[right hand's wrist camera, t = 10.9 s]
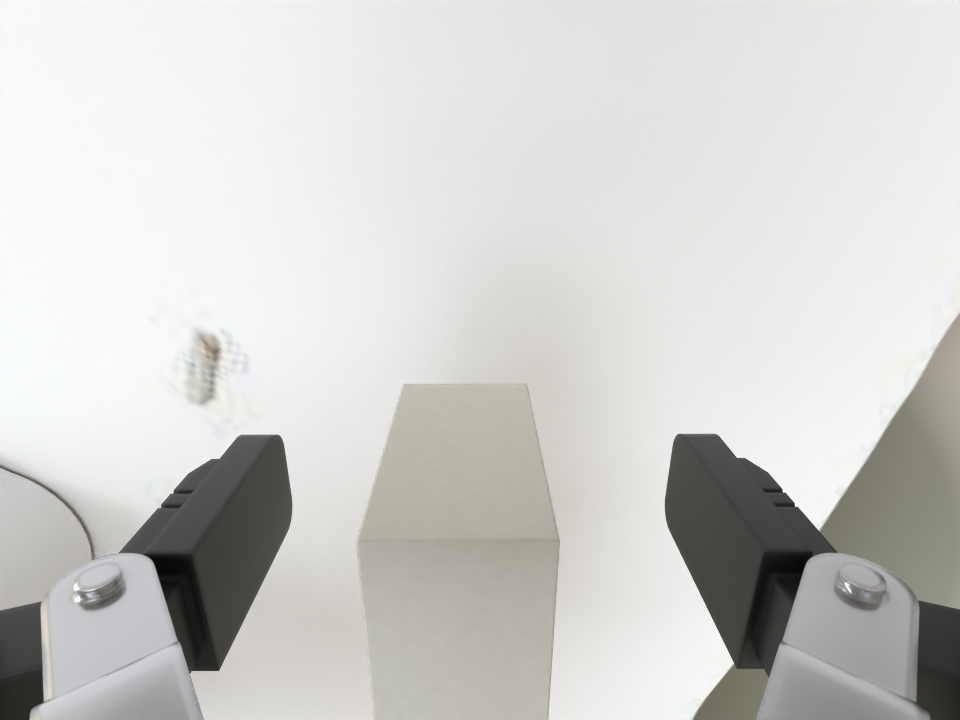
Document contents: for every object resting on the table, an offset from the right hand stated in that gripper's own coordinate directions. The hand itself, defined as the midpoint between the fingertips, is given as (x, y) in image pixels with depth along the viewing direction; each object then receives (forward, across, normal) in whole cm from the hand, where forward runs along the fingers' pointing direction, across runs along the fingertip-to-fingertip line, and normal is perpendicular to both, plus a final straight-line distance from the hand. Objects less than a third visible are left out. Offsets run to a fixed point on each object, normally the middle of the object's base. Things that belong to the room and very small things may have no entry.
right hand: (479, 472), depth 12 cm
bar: (+10, -1, -14) cm, 17 cm away
